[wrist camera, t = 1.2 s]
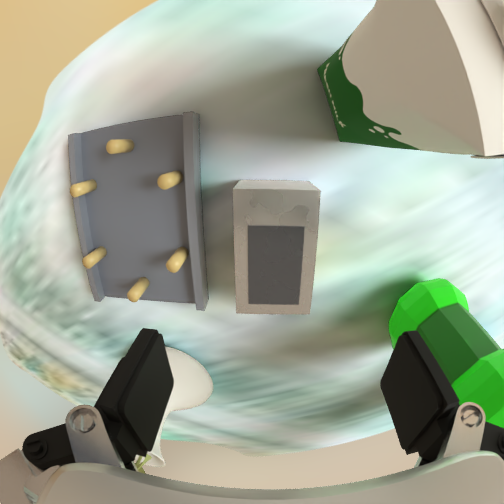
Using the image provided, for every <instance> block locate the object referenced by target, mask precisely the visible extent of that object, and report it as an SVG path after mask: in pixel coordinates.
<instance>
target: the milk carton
mask: <svg viewBox="0 0 504 504" xmlns="http://www.w3.org/2000/svg"><path fill="white" fill-rule="evenodd" d="M317 70H318V73H319V76H320V79H321V81H322V84H323V87H324V90H325V93H326V96H327V99H328V103H329V106H330V109H331V112H332V116H333V119H334V123H335V126H336V130H337V133H338V137H339V141H340V142H351V143H359V144H366V145H374V146H381V147H390V148H401V149H413V150H423V151H432V152H440V153H450V154H472V155H474V156H471V158H484V159H491V158H504V0H377V1H376V4H375V6H374V7H373V9H372V10H371V11H370V12H369V13H368V15H367V16H366V17H365V18H364V19H363V21H362V22H361V23H360V24H359V25H358V27H357V28H356V29H355V30H354V31H353V33H352V34H351V35H350V36H349V38H348V39H347V40H346V41H345V42H344V44H343V45H342V46H341V47H340V48H339V49H338V50H337V51H336V52H335V53H334V54H333V55H332V56H331V57H330V58H329V59H328V60H326V61H325V62H324V63H323V64H322V65H321V66H320V67H319V68H318V69H317Z"/></svg>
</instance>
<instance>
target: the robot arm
mask: <svg viewBox="0 0 504 504" xmlns="http://www.w3.org/2000/svg"><path fill="white" fill-rule="evenodd" d="M173 386H174V378H173V375H172V371H171V368H170V364H169V360H168V356H167V352H166V349H165V344H164V340H163V336H162V334H159V333H158V331H157V330H154V329H146V328H143V329H142V330H141V331H140V333H139V334H138V336H137V338H136V339H135V341H134V343H133V344H132V346H131V348H130V349H129V351H128V353H127V354H126V356H125V357H124V358H122V359H121V360H120V362H119V363H118V365H117V367H116V368H115V370H114V372H113V374H112V375H111V377H110V379H109V380H108V382H107V384H106V386H105V388H104V389H103V391H102V393H101V395H100V396H99V398H98V400H97V402H96V404H95V406H94V407H92V406H90V405H79V406H77V407H74V408H73V409H72V410H71V411H70V412H69V413H68V415H67V417H66V423H65V424H62V425H59V426H56V427H53V428H50V429H46V430H43V431H40V432H37V433H34V434H31V435H29V436H28V437H27V438H26V439H25V441H24V443H23V449H22V450H19V449H17V450H15V451H14V452H12V453H10V454H9V455H7V456H6V457H5V458H3V459H1V460H0V502H1V504H504V428H502V427H499V426H497V425H494V424H491V423H489V422H486V421H485V413H484V411H483V409H482V408H481V407H480V406H479V405H478V404H476V403H473V402H466V403H464V404H462V405H461V406H460V404H459V401H460V400H459V398H458V397H457V395H456V393H455V391H454V389H453V388H452V386H451V384H450V382H449V381H448V379H447V377H446V375H445V374H444V372H443V370H442V369H441V367H440V365H439V364H438V362H437V361H436V359H435V357H434V356H433V354H432V352H431V351H430V349H429V348H428V346H427V345H426V343H425V341H424V340H423V338H422V337H421V335H420V334H419V332H418V331H416V330H414V331H405V332H403V333H402V335H401V336H399V337H398V340H397V342H396V345H395V348H394V350H393V353H392V355H391V358H390V360H389V363H388V365H387V368H386V370H385V372H384V375H383V377H382V379H381V389H382V392H383V395H384V397H385V400H386V403H387V406H388V409H389V411H390V414H391V417H392V420H393V423H394V426H395V429H396V432H397V435H398V438H399V442H400V445H401V447H402V449H405V451H406V454H407V455H408V454H411V453H415V452H418V453H419V458H418V460H417V463H416V465H415V467H414V468H412V469H409V470H405V471H402V472H398V473H395V474H391V475H387V476H383V477H379V478H374V479H369V480H364V481H359V482H354V483H348V484H342V485H334V486H326V487H316V488H303V489H285V490H284V489H283V490H282V489H281V490H262V489H238V488H224V487H216V486H207V485H200V484H194V483H188V482H181V481H176V480H171V479H166V478H161V477H157V476H153V475H148V474H144V473H141V472H139V471H138V469H137V467H136V465H135V463H134V460H135V457H136V455H139V456H143V457H146V455H147V452H151V451H152V449H153V446H154V443H155V440H156V437H157V434H158V431H159V428H160V425H161V422H162V419H163V416H164V413H165V410H166V407H167V404H168V401H169V398H170V395H171V392H172V390H173Z"/></svg>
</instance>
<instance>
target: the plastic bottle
mask: <svg viewBox="0 0 504 504" xmlns="http://www.w3.org/2000/svg"><path fill="white" fill-rule="evenodd" d="M414 330H416V331H418V332H419V334H420V335H421V337H422V338H423V340H424V341H425V343H426V345H427V346H428V348H429V349H430V351H431V352H432V354H433V356H434V357H435V359H436V361H437V362H438V364H439V365H440V367H441V369H442V370H443V372H444V374H445V375H446V377H447V379H448V381H449V382H450V384H451V386H452V388H453V389H454V391H455V393H456V395H457V397H458V398H459V400H460V401H459V404H460V406H461V405H462V404H464V403H466V402H473V403H476V404H478V405H479V406H480V407H481V408H482V409H483V411H484V413H485V421H486V422H489V423H491V424H494V425H497V426H499V427H502V428H504V349H501V348H500V347H499V346H498V344H497V343H496V342H495V341H494V340H493V338H492V337H491V336H490V335H489V334H488V333H487V331H486V330H485V329H484V328H483V327H482V326H481V325H480V324H479V322H478V321H477V320H476V319H475V318H474V317H473V316H472V315H471V314H470V313H469V309H468V303H467V300H466V297H465V295H464V294H463V293H462V292H461V291H460V290H459V289H457V288H456V287H455V286H454V285H452V284H451V283H450V282H449V281H447V280H446V279H440V278H438V279H434V280H429V281H424V282H419V283H417V284H415V285H414V286H413V287H412V288H411V289H410V290H409V291H407V292H406V293H405V294H404V295H403V296H402V297H400V298H399V300H398V303H397V305H396V307H395V310H394V312H393V314H392V316H391V318H390V320H389V333H390V337H391V342H392V347H393V349H394V348H395V345H396V342H397V340H398V337H399V336H401V335H402V333H403V332H405V331H414Z"/></svg>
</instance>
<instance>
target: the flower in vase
mask: <svg viewBox="0 0 504 504" xmlns="http://www.w3.org/2000/svg"><path fill="white" fill-rule="evenodd" d="M165 349H166V352H167V356H168V360H169V364H170V368H171V371H172V375H173V378H174V386H173V390H172V392H171V395H170V398H169V401H168V404H167V407H166V410H165V413H164V416H163V419H162V422H161V425H160V428H159V431H158V434H157V437H156V440H155V443H154V446H153V449H152V451H151V452H147V455H146V457H143V456H139V455H136V457H135V460H136V461H137V462H136V463H135V465H136V467H137V469H138V471H139V472H141V473H144V474H146V473H145V471H144V470H143V468H142V466H143V465H144V464H145V465H149V466H154V467H162V466H165V461H164V459H163V457H162V454H161V449H160V438H161V432H162V428H163V425H164V422H165V419H166V417H167V416H168V414H169V413H170V412H172V411H176V410H184V409H190V408H193V407H196V406H199V405H201V404H203V403H204V402H205V401H206V400H207V399H208V398H209V397H210V395H211V394H212V392H213V382H212V379H211V377H210V375H209V373H208V372H207V370H206V369H205V368H204V367H203V365H202V364H200V363H199V362H198V361H197V360H196V359H194V358H193V357H191V356H190V355H188V354H186V353H184V352H182V351H180V350H177V349H174V348H170V347H165Z"/></svg>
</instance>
